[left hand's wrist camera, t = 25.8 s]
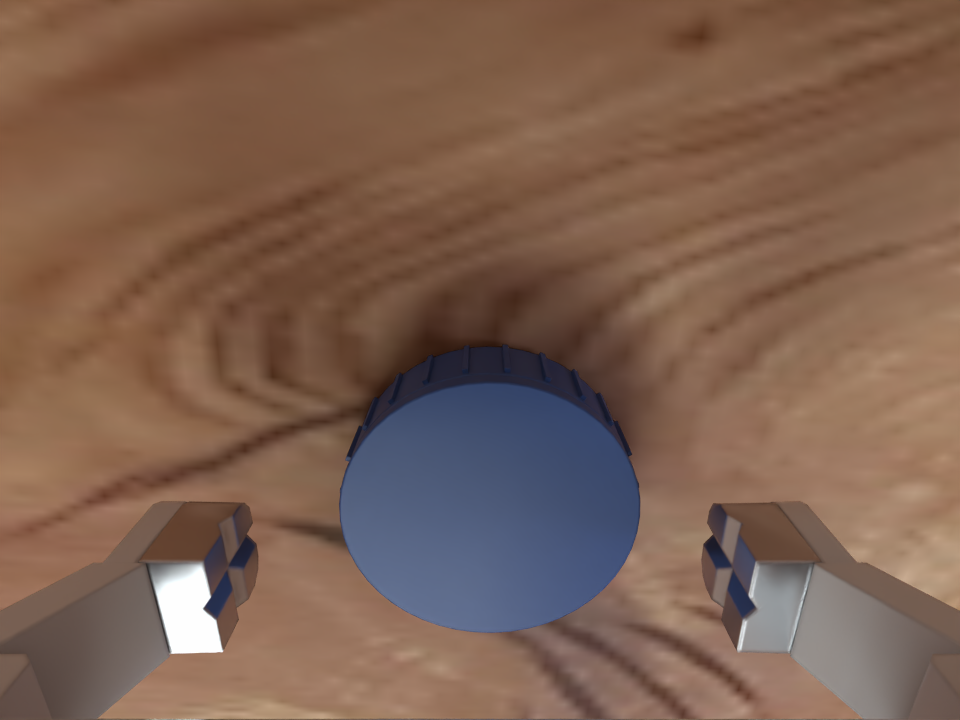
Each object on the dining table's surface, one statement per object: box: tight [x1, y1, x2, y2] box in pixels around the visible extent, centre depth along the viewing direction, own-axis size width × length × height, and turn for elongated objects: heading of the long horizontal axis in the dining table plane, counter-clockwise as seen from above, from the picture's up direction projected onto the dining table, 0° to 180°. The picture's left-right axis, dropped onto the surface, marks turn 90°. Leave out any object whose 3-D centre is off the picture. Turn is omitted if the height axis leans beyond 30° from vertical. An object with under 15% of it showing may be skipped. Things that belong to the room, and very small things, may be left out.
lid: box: [339, 344, 640, 633], centre depth 12 cm, size 6×6×2 cm
